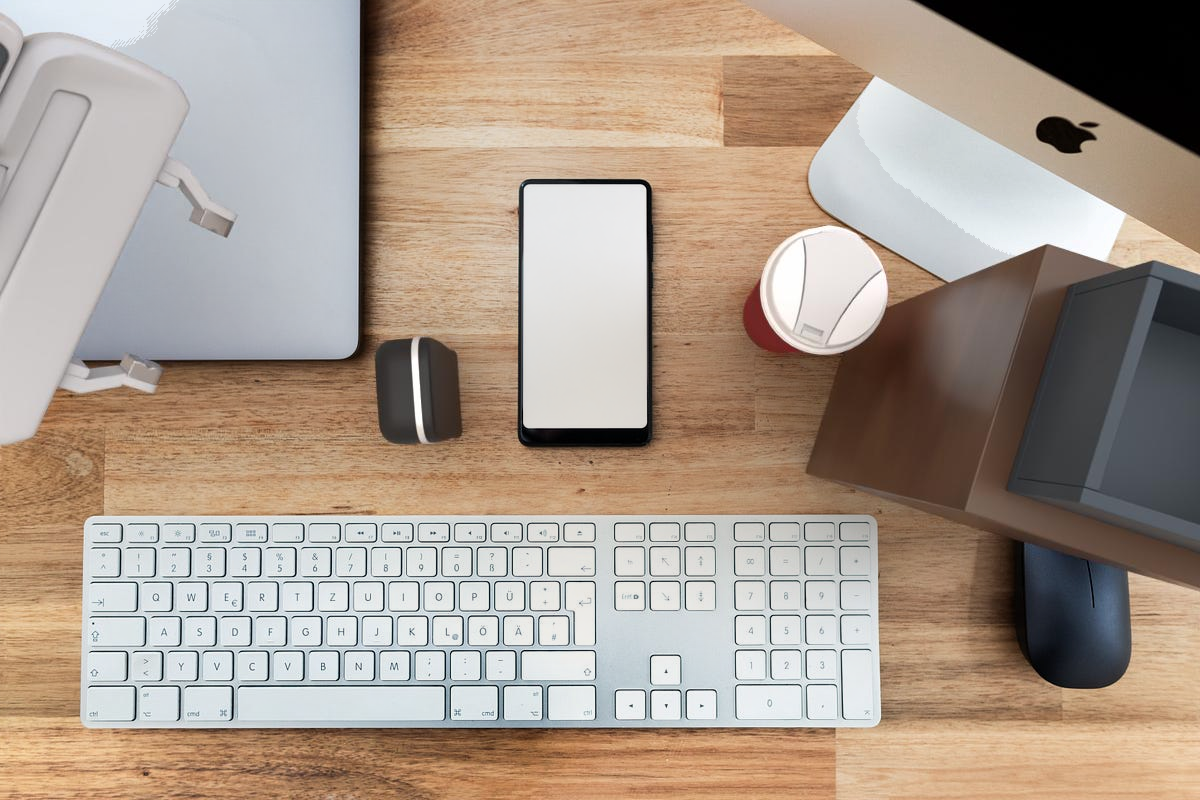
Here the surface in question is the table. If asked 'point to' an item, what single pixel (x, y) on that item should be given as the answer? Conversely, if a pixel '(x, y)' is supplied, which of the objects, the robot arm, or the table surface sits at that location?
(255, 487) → the table surface
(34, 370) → the robot arm
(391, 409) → the battery charger
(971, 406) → the stand
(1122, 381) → the bin
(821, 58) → the table surface
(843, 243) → the paper cup
